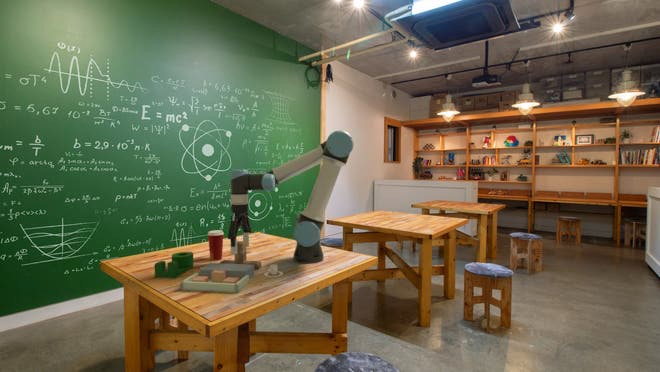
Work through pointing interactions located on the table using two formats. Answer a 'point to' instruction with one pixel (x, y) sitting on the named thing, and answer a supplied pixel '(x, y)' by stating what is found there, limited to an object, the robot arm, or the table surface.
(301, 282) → the table surface
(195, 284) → the tray
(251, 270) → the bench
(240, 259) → the scraper
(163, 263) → the green bracket
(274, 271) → the teacup and saucer
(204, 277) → the tile
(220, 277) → the tile
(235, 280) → the tile
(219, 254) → the paper cup
